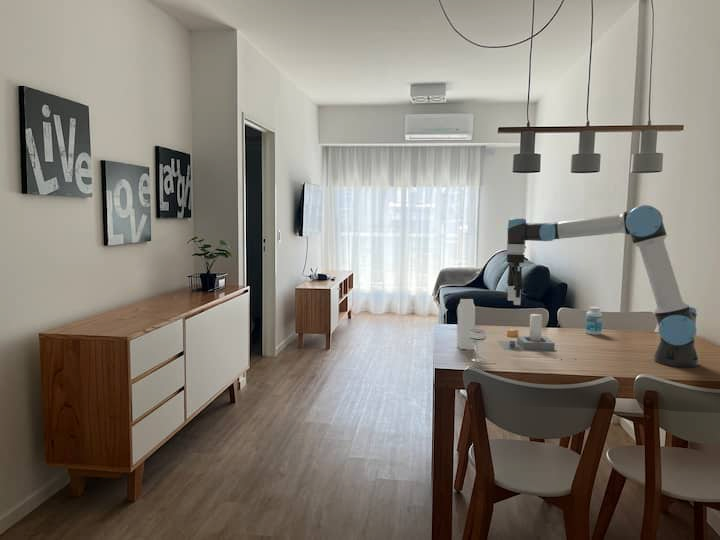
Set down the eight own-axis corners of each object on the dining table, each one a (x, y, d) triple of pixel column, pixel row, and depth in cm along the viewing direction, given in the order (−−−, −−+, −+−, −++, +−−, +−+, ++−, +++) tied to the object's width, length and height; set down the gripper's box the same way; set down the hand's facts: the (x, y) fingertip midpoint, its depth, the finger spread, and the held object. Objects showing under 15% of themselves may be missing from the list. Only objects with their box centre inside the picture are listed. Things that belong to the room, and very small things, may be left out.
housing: (556, 353, 221) (556, 344, 221) (504, 351, 223) (504, 342, 223) (545, 344, 237) (546, 335, 237) (497, 343, 239) (497, 334, 239)
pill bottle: (581, 332, 264) (583, 306, 262) (592, 331, 267) (593, 305, 266) (594, 335, 257) (595, 308, 256) (604, 334, 260) (606, 308, 259)
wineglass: (482, 357, 213) (483, 329, 212) (487, 362, 206) (488, 332, 205) (466, 357, 212) (467, 329, 211) (470, 362, 206) (471, 332, 205)
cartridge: (542, 347, 227) (543, 316, 226) (530, 347, 228) (531, 315, 226) (539, 344, 232) (540, 314, 231) (527, 344, 232) (529, 313, 231)
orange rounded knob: (519, 338, 228) (519, 331, 227) (508, 337, 228) (508, 331, 228) (516, 335, 232) (516, 329, 232) (505, 335, 233) (506, 328, 232)
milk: (456, 346, 232) (457, 298, 230) (470, 346, 232) (471, 297, 231) (460, 349, 226) (461, 300, 224) (474, 349, 226) (475, 299, 225)
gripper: (531, 255, 215) (529, 307, 217) (518, 252, 238) (516, 298, 240) (512, 255, 215) (511, 306, 217) (501, 252, 239) (499, 298, 241)
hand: (513, 302), depth 229 cm, fingers open, 12 cm apart
